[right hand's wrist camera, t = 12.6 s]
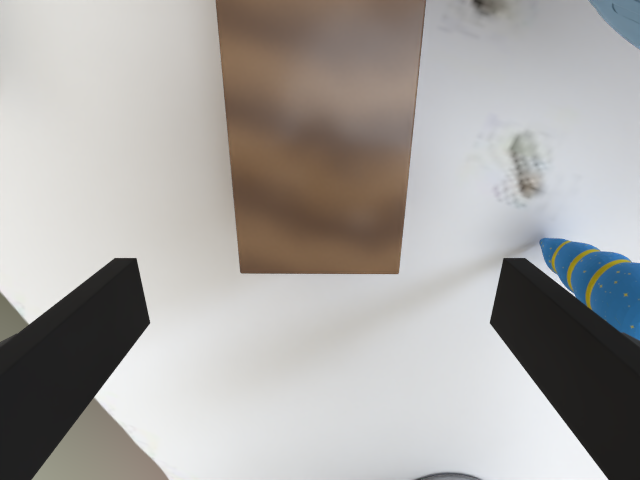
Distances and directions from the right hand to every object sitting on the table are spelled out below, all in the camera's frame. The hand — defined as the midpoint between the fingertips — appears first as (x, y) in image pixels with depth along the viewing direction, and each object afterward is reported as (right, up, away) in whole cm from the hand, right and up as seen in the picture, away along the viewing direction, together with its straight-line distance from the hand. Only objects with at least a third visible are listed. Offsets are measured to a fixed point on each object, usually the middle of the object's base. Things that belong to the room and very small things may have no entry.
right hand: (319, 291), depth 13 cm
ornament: (+21, +2, +21) cm, 29 cm away
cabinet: (0, +12, +16) cm, 20 cm away
